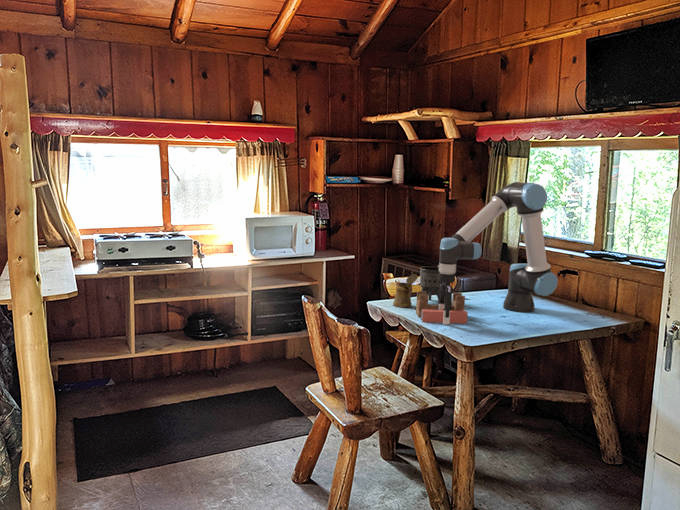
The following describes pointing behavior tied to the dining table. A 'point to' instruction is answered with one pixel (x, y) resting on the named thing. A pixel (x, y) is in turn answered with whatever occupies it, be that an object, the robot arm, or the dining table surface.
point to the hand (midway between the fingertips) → (443, 321)
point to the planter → (429, 280)
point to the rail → (438, 315)
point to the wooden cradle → (422, 303)
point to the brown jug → (404, 292)
